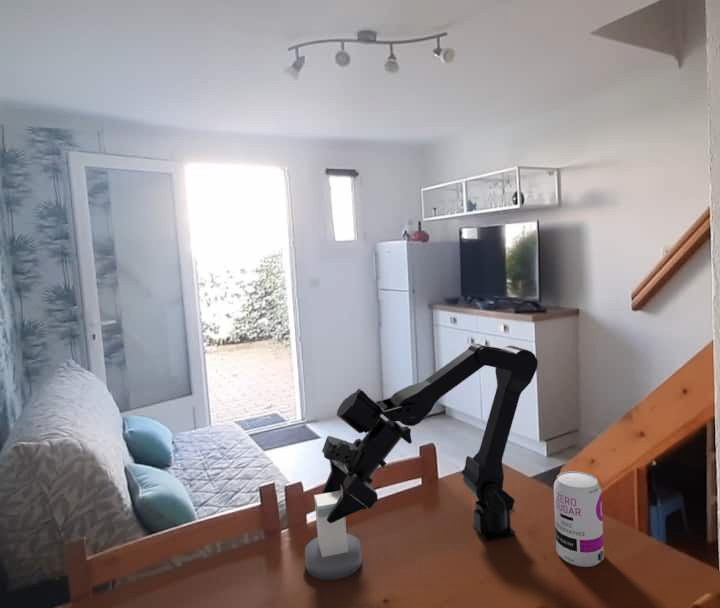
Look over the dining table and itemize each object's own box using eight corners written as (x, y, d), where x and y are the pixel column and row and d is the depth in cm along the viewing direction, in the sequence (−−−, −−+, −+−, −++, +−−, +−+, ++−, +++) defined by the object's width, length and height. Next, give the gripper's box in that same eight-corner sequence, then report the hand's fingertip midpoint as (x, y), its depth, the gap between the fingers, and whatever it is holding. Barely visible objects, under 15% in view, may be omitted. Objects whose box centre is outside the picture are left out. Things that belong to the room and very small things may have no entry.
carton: (342, 538, 103) (339, 490, 102) (348, 552, 98) (344, 501, 97) (318, 543, 102) (314, 495, 101) (322, 557, 97) (317, 506, 96)
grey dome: (353, 542, 107) (352, 528, 106) (369, 571, 96) (367, 556, 96) (301, 553, 104) (300, 539, 103) (311, 585, 93) (310, 570, 93)
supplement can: (603, 547, 98) (600, 472, 97) (604, 572, 91) (601, 491, 90) (558, 540, 102) (555, 468, 100) (555, 564, 94) (551, 486, 93)
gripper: (336, 409, 108) (288, 468, 106) (355, 437, 89) (297, 509, 88) (375, 440, 110) (329, 498, 109) (401, 473, 92) (345, 544, 90)
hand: (324, 510), depth 99 cm, fingers open, 9 cm apart
